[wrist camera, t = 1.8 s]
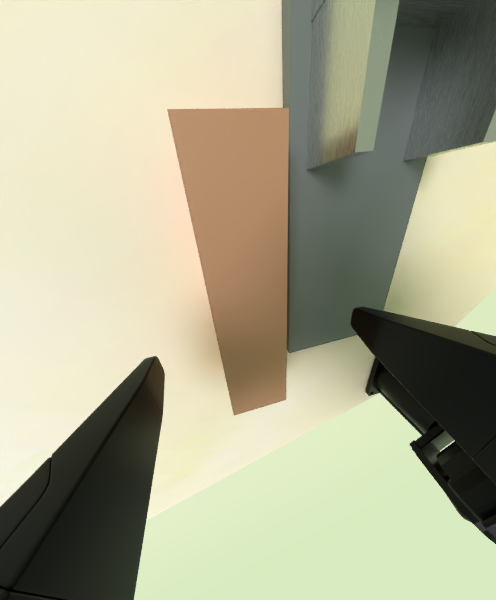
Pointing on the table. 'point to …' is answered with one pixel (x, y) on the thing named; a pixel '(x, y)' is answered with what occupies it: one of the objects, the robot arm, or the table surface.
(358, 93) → the bracket
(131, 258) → the table surface
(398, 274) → the table surface
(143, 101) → the table surface
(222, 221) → the rail
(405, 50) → the board
